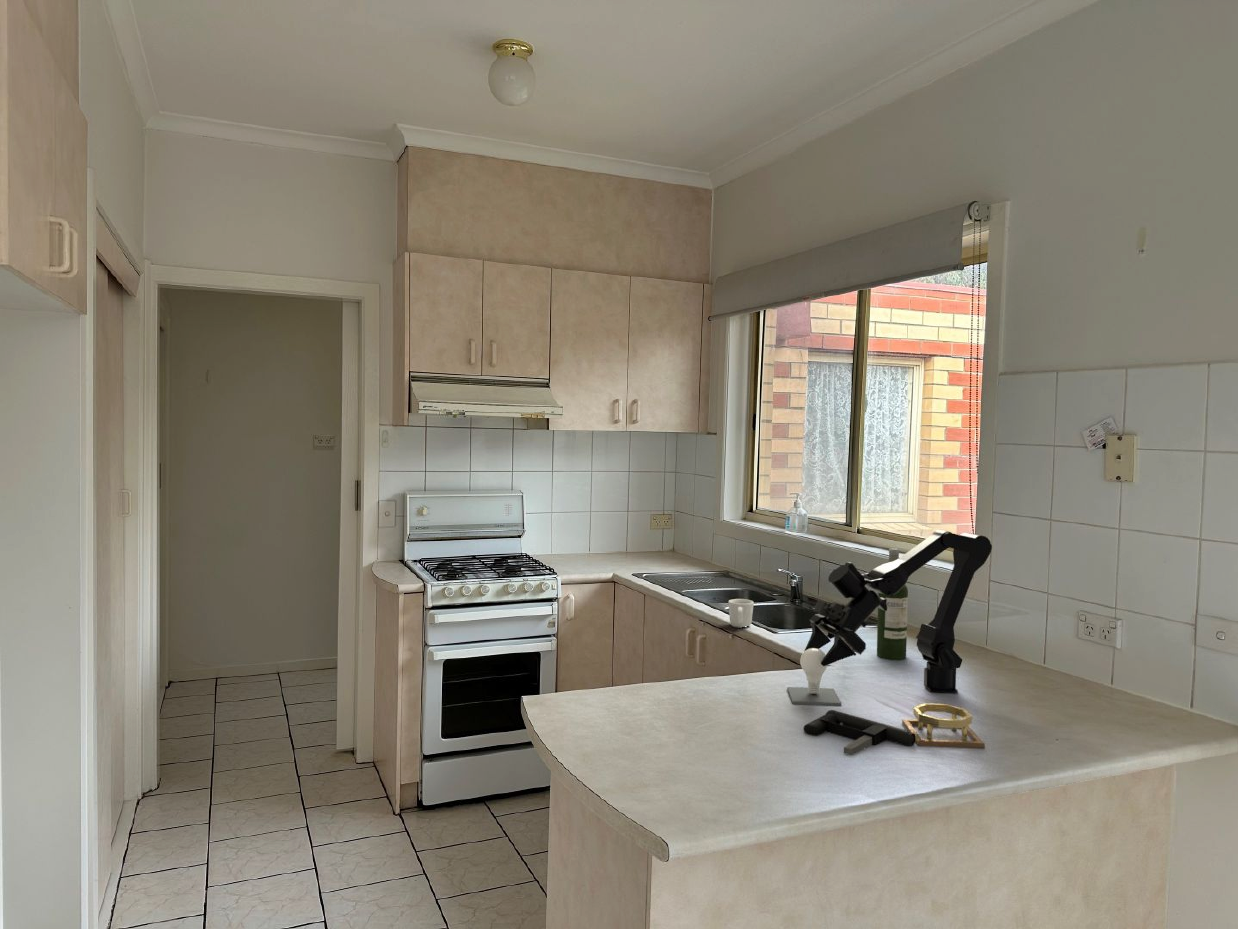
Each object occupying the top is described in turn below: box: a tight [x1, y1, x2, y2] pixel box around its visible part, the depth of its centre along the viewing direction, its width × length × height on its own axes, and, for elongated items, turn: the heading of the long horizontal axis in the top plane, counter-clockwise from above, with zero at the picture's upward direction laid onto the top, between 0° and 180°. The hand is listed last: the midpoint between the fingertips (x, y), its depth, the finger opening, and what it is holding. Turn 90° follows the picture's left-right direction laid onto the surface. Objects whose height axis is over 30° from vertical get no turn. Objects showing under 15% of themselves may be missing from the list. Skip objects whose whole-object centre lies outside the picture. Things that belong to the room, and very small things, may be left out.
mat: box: [787, 686, 842, 706], centre depth 207 cm, size 11×11×1 cm
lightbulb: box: [799, 648, 829, 695], centre depth 207 cm, size 6×6×11 cm
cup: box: [728, 598, 755, 629], centre depth 277 cm, size 11×8×8 cm
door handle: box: [803, 709, 916, 756], centre depth 179 cm, size 3×20×16 cm
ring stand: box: [901, 702, 986, 749], centre depth 182 cm, size 13×13×5 cm
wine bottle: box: [876, 548, 909, 661], centre depth 244 cm, size 8×8×30 cm
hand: (813, 659), depth 206 cm, fingers open, 9 cm apart
